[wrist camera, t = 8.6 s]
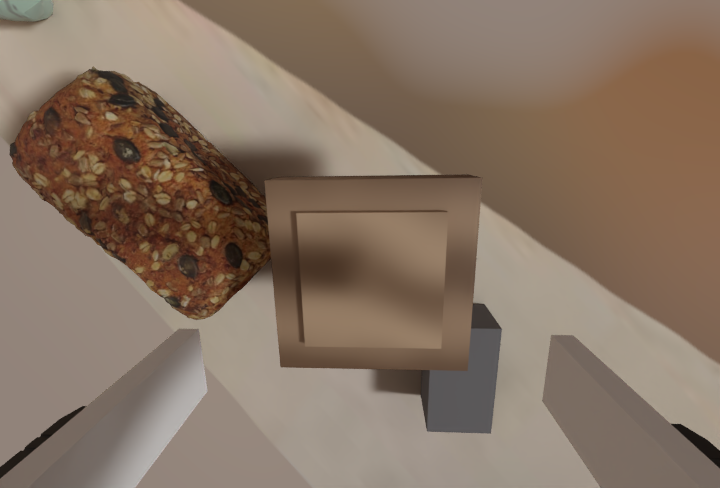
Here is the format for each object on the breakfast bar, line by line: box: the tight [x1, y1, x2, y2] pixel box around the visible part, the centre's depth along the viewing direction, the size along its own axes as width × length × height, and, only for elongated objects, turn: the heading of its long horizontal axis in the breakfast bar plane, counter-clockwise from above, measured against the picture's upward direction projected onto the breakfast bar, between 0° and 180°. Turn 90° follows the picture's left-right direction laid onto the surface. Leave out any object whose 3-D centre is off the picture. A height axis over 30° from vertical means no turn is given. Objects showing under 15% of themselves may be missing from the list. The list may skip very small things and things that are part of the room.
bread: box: [10, 67, 271, 320], centre depth 28 cm, size 19×11×10 cm, turn 43°
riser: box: [421, 304, 502, 433], centre depth 33 cm, size 11×6×5 cm, turn 1°
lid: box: [264, 175, 482, 371], centre depth 21 cm, size 12×12×3 cm
